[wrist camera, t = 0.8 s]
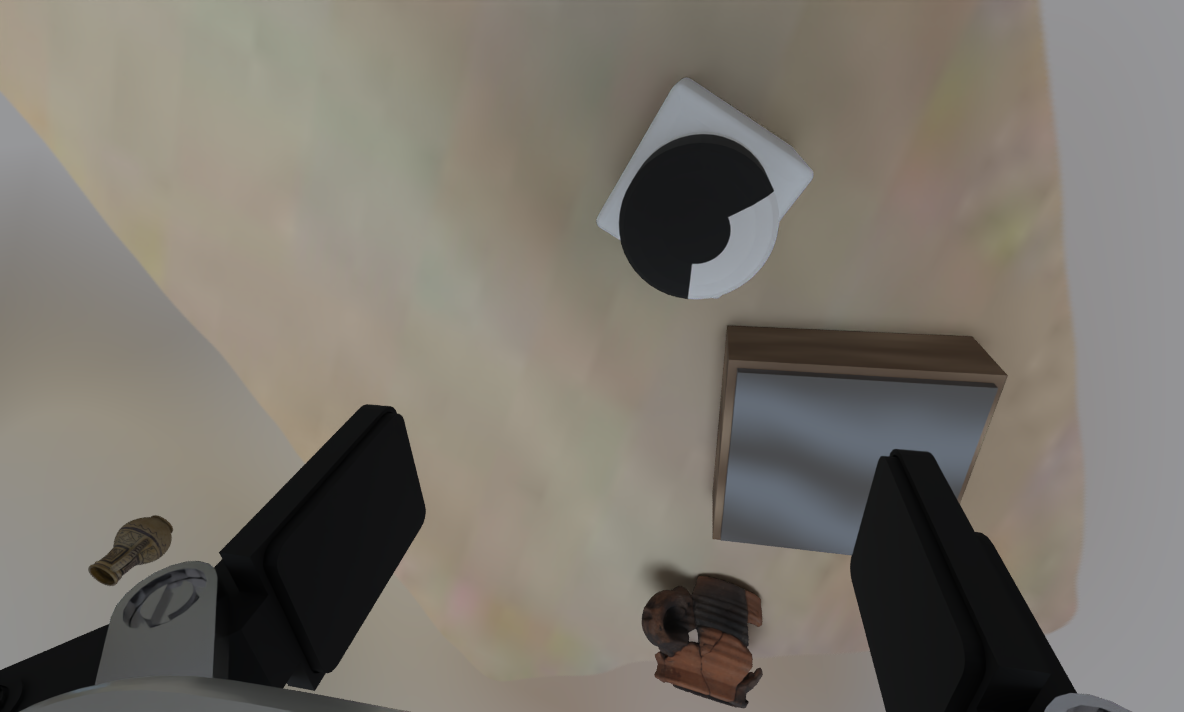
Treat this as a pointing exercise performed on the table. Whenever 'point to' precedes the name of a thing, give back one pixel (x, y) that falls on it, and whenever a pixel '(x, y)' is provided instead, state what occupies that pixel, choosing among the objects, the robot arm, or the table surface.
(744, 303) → the table surface
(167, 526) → the brown patterned vase
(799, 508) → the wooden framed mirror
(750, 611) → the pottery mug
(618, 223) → the medicine bottle
